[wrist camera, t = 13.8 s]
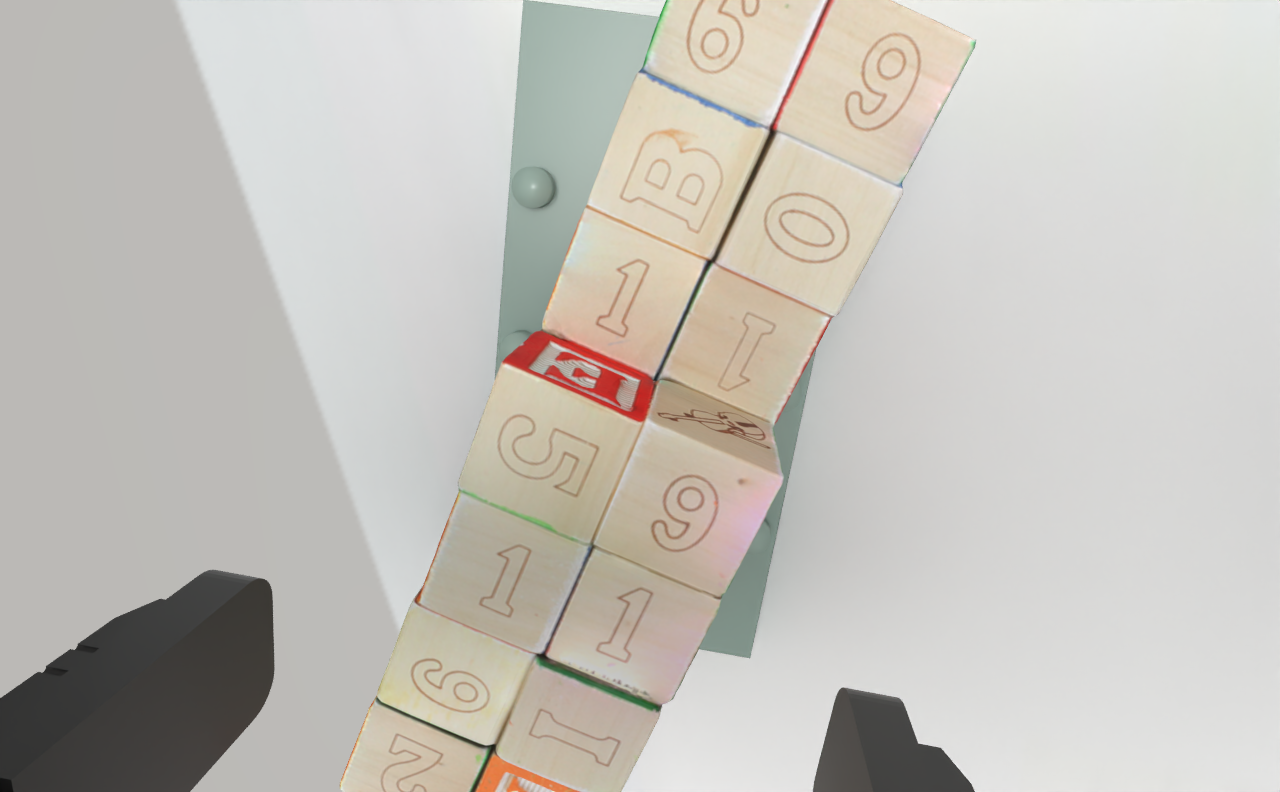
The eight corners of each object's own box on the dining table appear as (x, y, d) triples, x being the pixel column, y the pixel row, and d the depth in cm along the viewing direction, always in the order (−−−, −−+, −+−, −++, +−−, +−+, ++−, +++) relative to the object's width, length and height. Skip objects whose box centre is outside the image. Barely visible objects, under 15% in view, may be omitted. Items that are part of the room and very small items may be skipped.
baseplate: (870, 53, 24) (886, 39, 22) (748, 636, 31) (750, 670, 29) (534, 11, 25) (517, -7, 23) (488, 590, 32) (471, 620, 30)
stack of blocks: (705, 15, 22) (700, -176, 11) (881, 97, 23) (1069, -1, 11) (484, 549, 29) (328, 800, 17) (622, 610, 29) (563, 899, 17)
